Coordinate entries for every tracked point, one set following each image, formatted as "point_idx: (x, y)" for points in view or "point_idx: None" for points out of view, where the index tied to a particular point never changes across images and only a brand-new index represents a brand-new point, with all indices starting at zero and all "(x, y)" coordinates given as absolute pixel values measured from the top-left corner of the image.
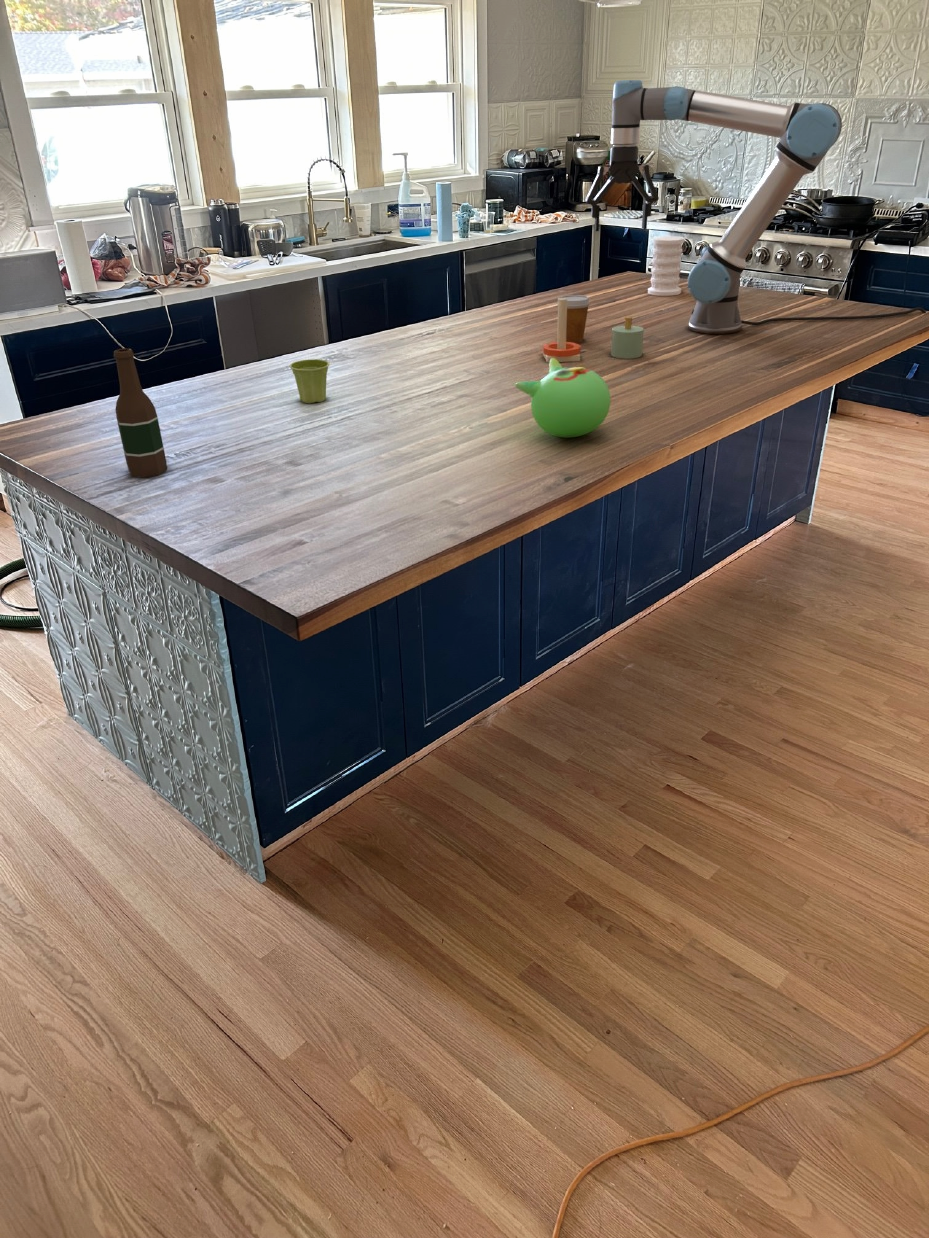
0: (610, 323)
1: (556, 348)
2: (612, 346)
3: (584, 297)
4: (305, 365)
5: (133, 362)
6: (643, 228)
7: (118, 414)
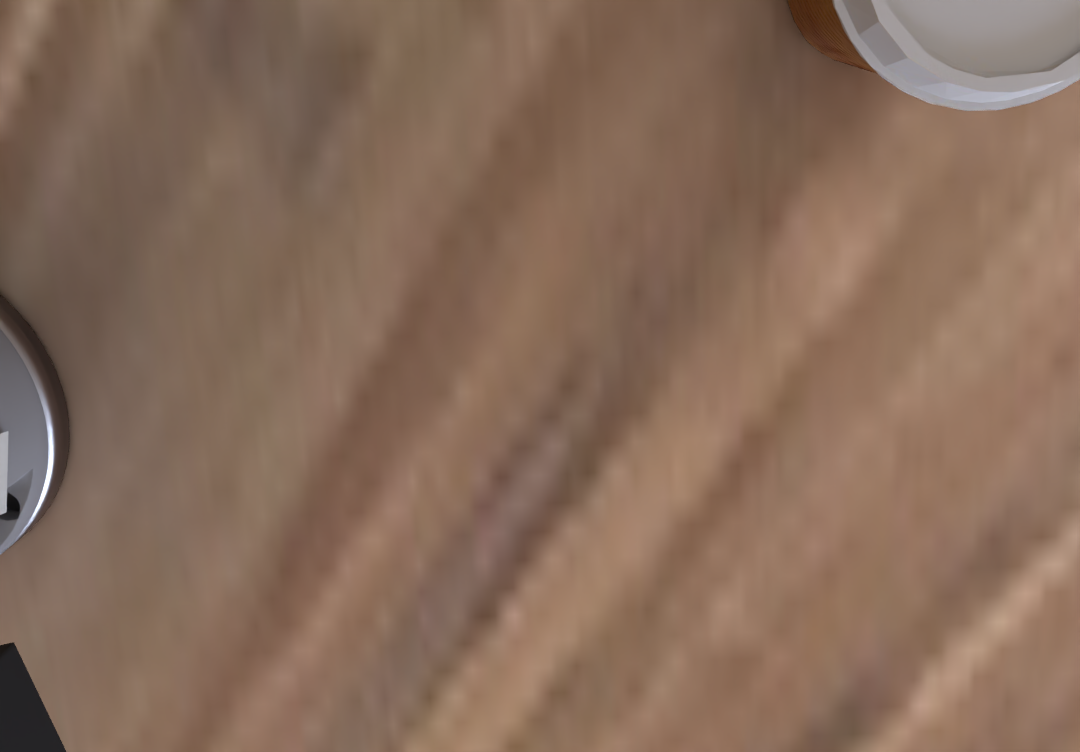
0: (602, 535)
1: None
2: None
3: (896, 22)
4: None
5: None
6: (27, 701)
7: None
